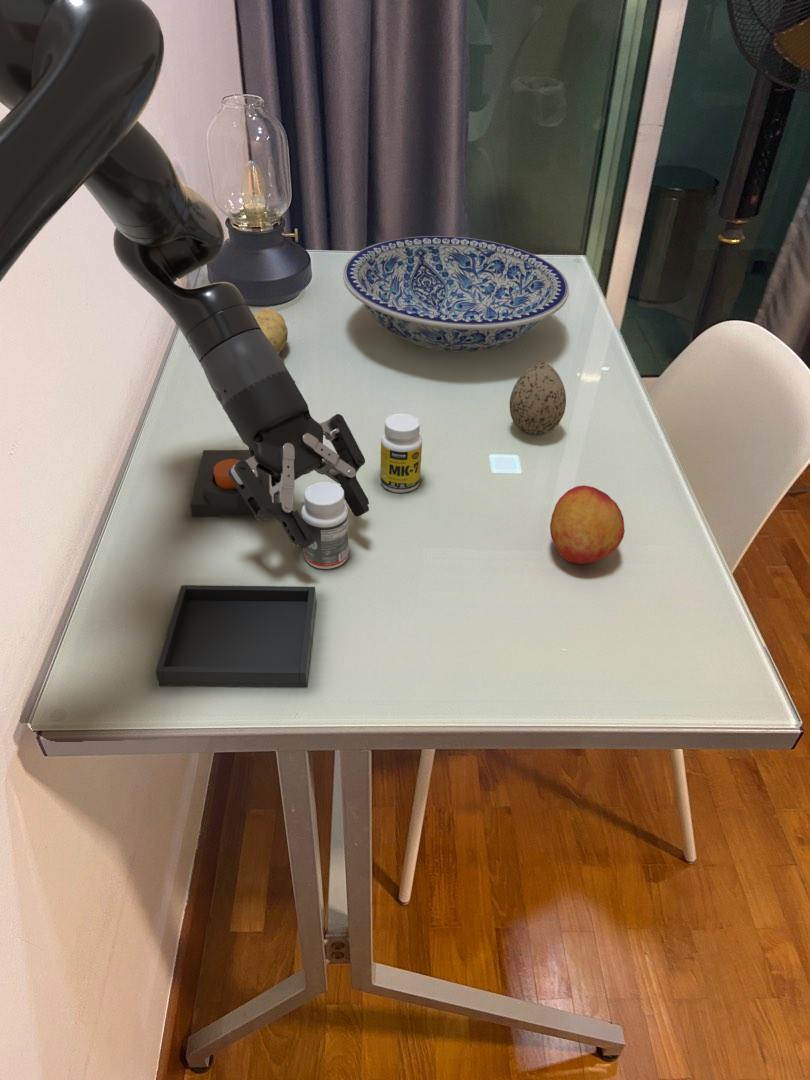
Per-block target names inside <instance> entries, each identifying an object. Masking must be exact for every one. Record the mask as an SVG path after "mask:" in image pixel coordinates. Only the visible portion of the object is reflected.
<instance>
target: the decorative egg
mask: <svg viewBox="0 0 810 1080" xmlns="http://www.w3.org/2000/svg"><path fill="white" fill-rule="evenodd" d="M566 407H567V394H566V388H565V385H564V383H563V380H562V377H560V375H559V373H558V372H557V370H556V369H555V368H554V367H553V366H552V365H551V364H549V363H548V362H545V361H540V362H536V363H534V364H533V365H532V366H529V368H528V369H526V370H525V371H524V372H523V373H522V374H521V375H520V377H519V378H518V379H517V381H516V382H515V384H514V386H513V388H512V390H511V394H510V397H509V413H510V417H511V420H512V422H513V424H514V426H515V427H516V428H517V429H518V430H519V431H520V432H522V433H524V434H525V435H529V436H533V437H535V436H536V437H537V436H539V437H540V436H543V435H546V434H549V433H550V432H551V431H553V430H554V429H556V428H557V427H558V426H559V424H560V423H561V421H562V419H563V418H564V414H565V413H566Z"/></svg>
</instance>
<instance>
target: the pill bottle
mask: <svg viewBox="0 0 810 1080" xmlns="http://www.w3.org/2000/svg"><path fill="white" fill-rule="evenodd" d="M303 496H304V497H303V498H304V501H303V502H304V504H303V506H302V508H301V517H302V519H303V521H304V523H305V524H306V526H307V528H308V529H309V531H310V533H311V535H312V536H313V538H314V543H313V544H311V545H310V546H308V547H306V548H304V549H303V556H304V559H305V561H306V562H307V563H308V564H309V565H310V566H311V567H314V568H316V569H321V570H322V569H324V570H329V569H335V568H337V567H340V566H341V565H343V564H344V563H345V562H346V561H347V559H348V557H349V553H350V552H349V551H350V550H349V549H350V548H349V511H348V507H347V506H348V505H346V501H345V499H344V491H343V489H342V487H341V485H340V484H339V483H336V482H332V481H319V482H315V483H312V484H310V485H309V486H308V487H307V488H306V489H305V490H304V494H303Z"/></svg>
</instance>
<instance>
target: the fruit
mask: <svg viewBox="0 0 810 1080" xmlns="http://www.w3.org/2000/svg"><path fill="white" fill-rule="evenodd" d="M549 530H550V536H551V540H552V544H553V546H554V548H555V549H556V550H557V552H558V553H559V555H560V556H561V557H562V558H563V559H564V560H565V561H567V562H569V563H571V564H575V565H589V564H592V563H596V562H598V561H601V560H603V559H604V558H606V557H608V556H609V555H611V554H612V553H613V552H615V551H616V550H617V549H618V547H619V546H620V545H621V543H622V541H623V539H624V537H625V531H626V530H625V520H624V516H623V513H622V510H621V509H620V507H619V505H618V503H616V501H615V500H614V499H612V497H611V496H610V495H609V494H608V493H606V492H604V491H603V490H600V489H598V488H596V487H595V486H589V485H585V484H584V485H575V486H574V487H572V488H570V489H569V490H567V491H566V492H565V493H564V494H562V496H560V497H559V499H558V500H557V502H556V504H555V506H554V509H553V511H552V514H551V518H550V525H549Z"/></svg>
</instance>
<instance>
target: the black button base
mask: <svg viewBox="0 0 810 1080" xmlns="http://www.w3.org/2000/svg"><path fill="white" fill-rule="evenodd" d="M249 458H250V451H249V449H203V450H202V453H201V458H200V462H199V466H198V470H197V473H196V477H195V478H196V479H195V483H194V487H193V491H192V496H191V499H190V503H189V506H190V512H191V517H231V516H232V517H233V516H235V517H236V516H237V517H238V516H239V517H240V516H254V514H253V513H252V511H251V509H250V508H249V506H248V505H247V503H246V502H245V500H244V499H243V497H242V495H241V494H240V492H239V491H238V489H237V488H235V489H223V488H221V487H218V486H217V485H216V482H215V476H214V467H215V465H216V464H217V463H219V462H220V461H223V460H227V459H237V460H244V461H245V460H247V459H249ZM256 470H257V472H258V477H257V479H258V480H259V482H260V483H261V485H262V487H263V488H264V490H265V491H266V493H267V494H268V496H269V498H270V499H271V501H272V496H271V495H270V487H269V474H267V473H266V472H264V471H262V470H260V469H258V468H256Z"/></svg>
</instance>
